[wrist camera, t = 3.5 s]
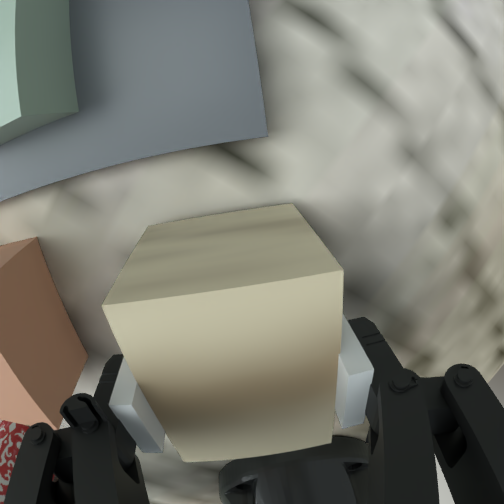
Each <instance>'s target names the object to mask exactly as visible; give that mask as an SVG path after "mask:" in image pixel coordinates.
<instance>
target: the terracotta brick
mask: <svg viewBox="0 0 504 504" xmlns="http://www.w3.org/2000/svg"><path fill="white" fill-rule="evenodd" d="M87 358H88V354H87V352H86V351H85V349H84V347H83V345H82V343H81V341H80V339H79V337H78V335H77V333H76V331H75V329H74V327H73V325H72V323H71V321H70V319H69V317H68V314H67V312H66V310H65V308H64V306H63V303H62V301H61V299H60V296H59V294H58V292H57V289H56V287H55V285H54V282H53V280H52V277H51V275H50V272H49V270H48V267H47V264H46V262H45V259H44V256H43V253H42V251H41V248H40V245H39V242H38V239H37V237H34V238H30V239H26V240H22V241H17V242H13V243H10V244H6V245H2V246H0V419H1V420H5V421H9V422H14V423H18V424H23V425H28V426H32V425H34V424H36V423H40V422H44V423H47V424H49V425H50V426H51V427H52V428H53V430H59V428H60V425H61V422H62V420H63V416H62V415H61V414H60V408H61V406H62V404H63V403H64V402H65V400H67V399H68V398H69V397H71V396H72V394H73V391H74V389H75V387H76V384H77V382H78V379H79V377H80V375H81V372H82V370H83V368H84V365H85V363H86V361H87Z"/></svg>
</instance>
